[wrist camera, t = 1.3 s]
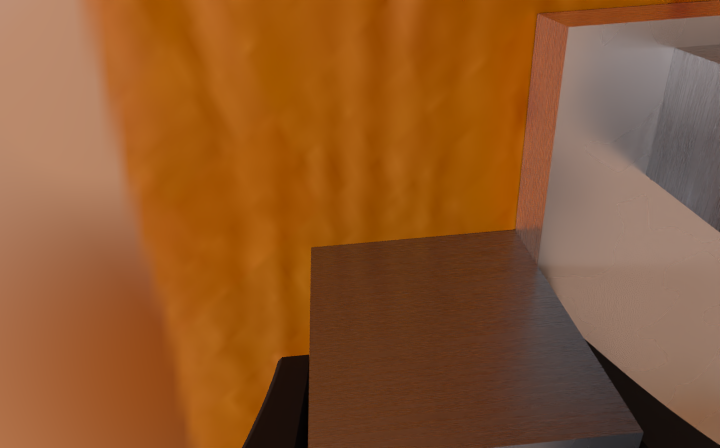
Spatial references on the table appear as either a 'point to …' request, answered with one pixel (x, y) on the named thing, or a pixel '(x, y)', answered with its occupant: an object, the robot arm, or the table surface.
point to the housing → (451, 351)
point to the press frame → (632, 191)
